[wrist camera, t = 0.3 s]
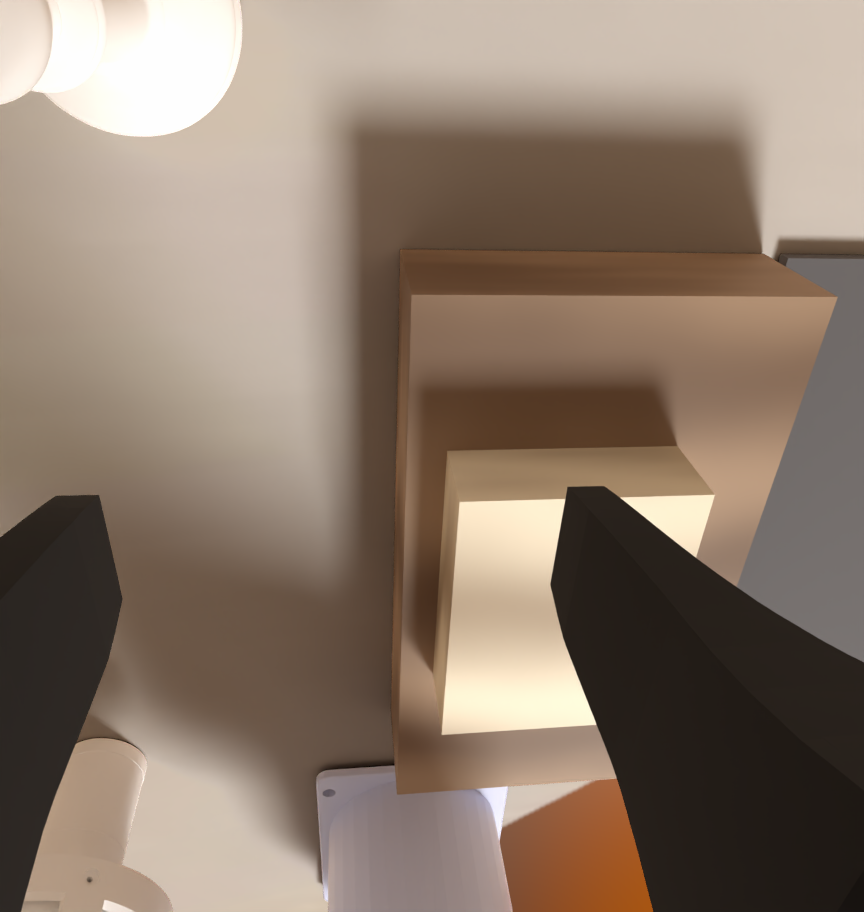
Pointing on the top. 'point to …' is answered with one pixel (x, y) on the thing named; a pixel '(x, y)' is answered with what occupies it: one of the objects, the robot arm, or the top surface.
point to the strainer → (93, 837)
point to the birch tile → (532, 574)
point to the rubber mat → (820, 479)
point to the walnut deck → (579, 430)
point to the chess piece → (122, 59)
